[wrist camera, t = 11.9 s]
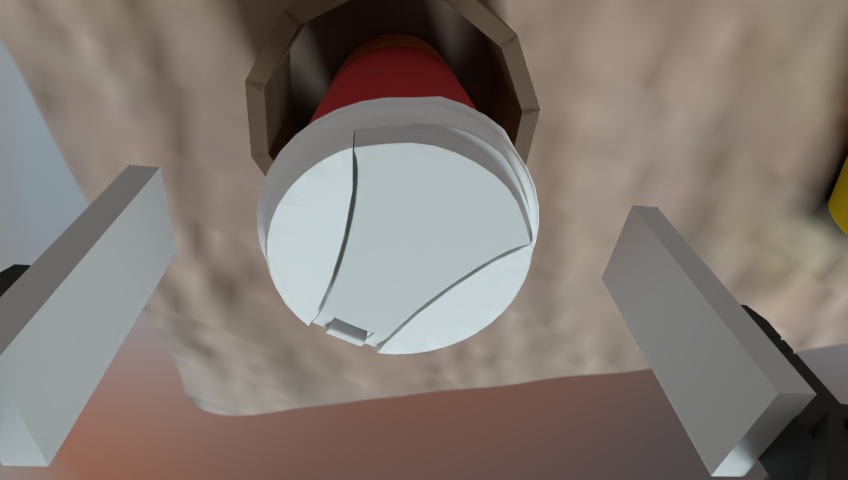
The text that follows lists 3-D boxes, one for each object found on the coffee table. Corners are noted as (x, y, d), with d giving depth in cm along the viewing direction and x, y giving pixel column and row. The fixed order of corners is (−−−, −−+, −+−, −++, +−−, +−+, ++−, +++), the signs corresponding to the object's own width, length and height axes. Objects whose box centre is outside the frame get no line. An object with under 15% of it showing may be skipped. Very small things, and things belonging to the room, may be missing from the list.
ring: (269, -58, 22) (234, -48, 17) (530, -25, 23) (568, -6, 18) (281, 182, 28) (258, 241, 23) (483, 197, 30) (503, 255, 25)
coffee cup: (419, 187, 29) (442, 397, 17) (289, 117, 26) (200, 306, 14) (506, 63, 25) (619, 213, 13) (365, -34, 23) (336, 38, 10)
